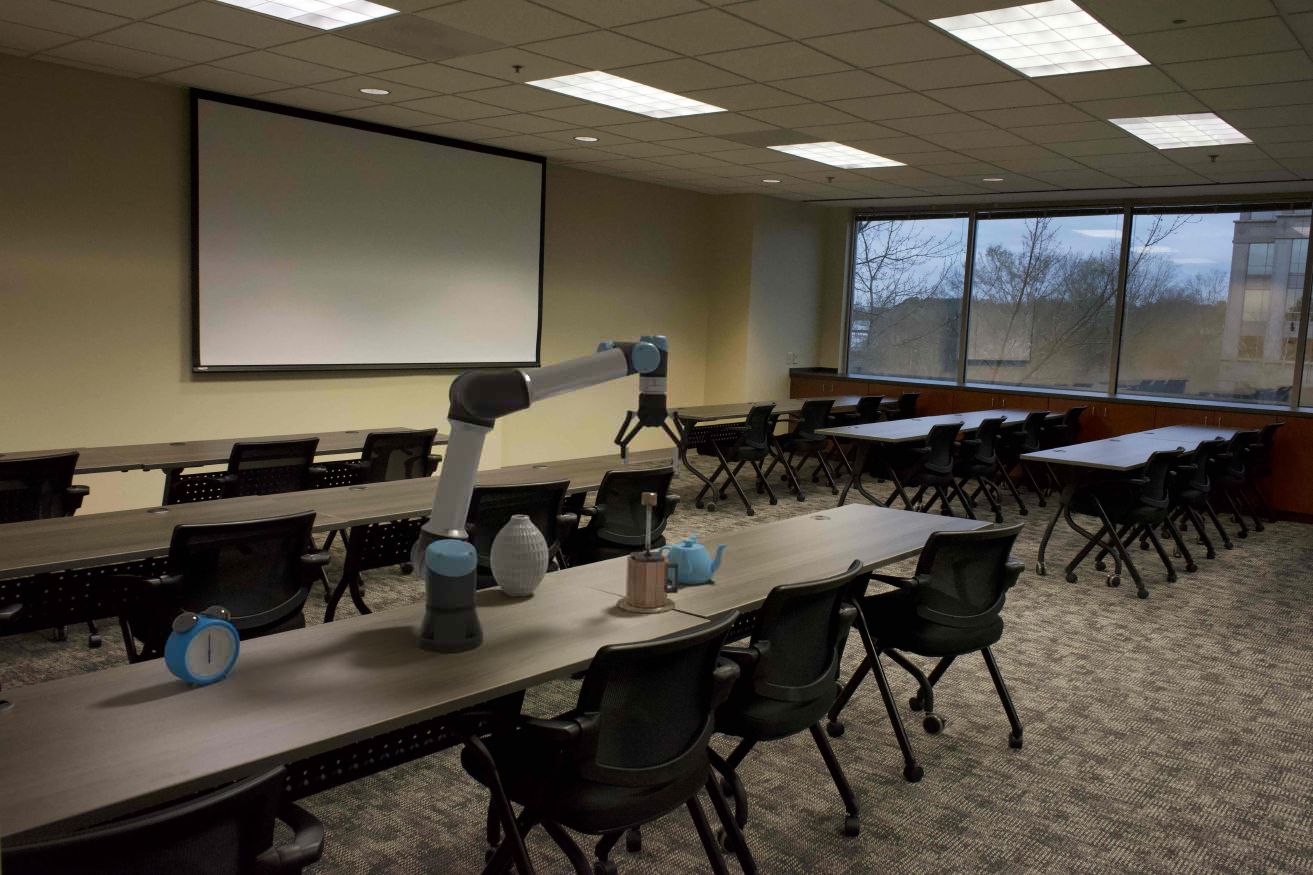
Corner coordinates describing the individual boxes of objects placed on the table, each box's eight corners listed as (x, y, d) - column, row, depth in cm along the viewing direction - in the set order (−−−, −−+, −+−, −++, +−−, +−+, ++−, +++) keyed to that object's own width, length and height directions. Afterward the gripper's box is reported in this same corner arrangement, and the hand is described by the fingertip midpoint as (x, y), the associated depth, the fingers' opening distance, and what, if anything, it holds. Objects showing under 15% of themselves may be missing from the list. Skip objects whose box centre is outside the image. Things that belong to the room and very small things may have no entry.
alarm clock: (181, 694, 183) (179, 619, 181) (163, 687, 186) (161, 614, 185) (241, 675, 194) (240, 605, 193) (223, 669, 197) (222, 600, 196)
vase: (486, 587, 269) (487, 511, 267) (541, 584, 274) (543, 510, 272) (494, 602, 253) (495, 522, 251) (552, 599, 258) (554, 520, 256)
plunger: (636, 569, 250) (638, 495, 248) (631, 562, 257) (633, 491, 255) (663, 568, 252) (665, 495, 250) (658, 562, 259) (660, 491, 257)
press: (622, 614, 246) (623, 562, 245) (613, 597, 262) (614, 549, 260) (682, 612, 249) (684, 561, 248) (670, 596, 265) (671, 548, 264)
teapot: (729, 581, 285) (731, 542, 283) (682, 589, 273) (683, 548, 272) (693, 569, 298) (695, 532, 297) (647, 577, 287) (648, 538, 286)
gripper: (608, 392, 244) (607, 472, 246) (701, 394, 249) (698, 472, 251) (604, 391, 251) (603, 469, 253) (694, 392, 256) (692, 468, 258)
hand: (650, 471), depth 252 cm, fingers open, 13 cm apart
